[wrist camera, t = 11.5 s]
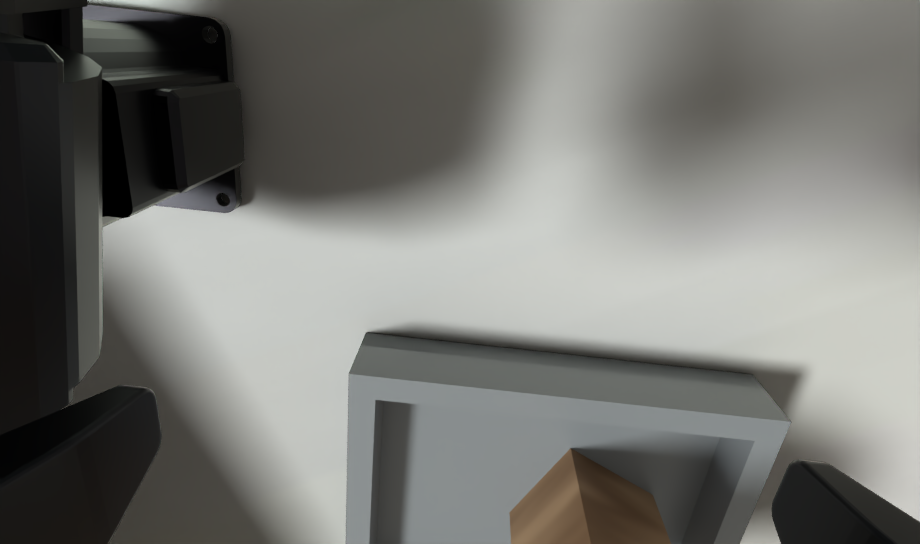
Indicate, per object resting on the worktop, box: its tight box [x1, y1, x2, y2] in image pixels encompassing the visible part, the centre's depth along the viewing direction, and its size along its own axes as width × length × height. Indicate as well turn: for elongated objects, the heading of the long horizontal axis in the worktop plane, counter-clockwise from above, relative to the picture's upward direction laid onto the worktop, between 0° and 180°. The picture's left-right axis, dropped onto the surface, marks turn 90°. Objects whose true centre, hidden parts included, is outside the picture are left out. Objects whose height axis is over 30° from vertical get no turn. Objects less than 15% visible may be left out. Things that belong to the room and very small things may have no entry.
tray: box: [346, 333, 791, 544], centre depth 23 cm, size 16×14×3 cm
